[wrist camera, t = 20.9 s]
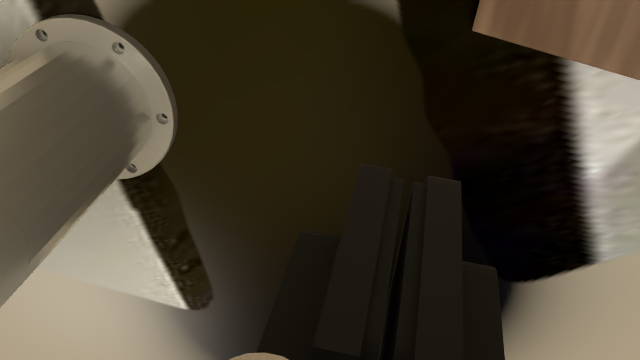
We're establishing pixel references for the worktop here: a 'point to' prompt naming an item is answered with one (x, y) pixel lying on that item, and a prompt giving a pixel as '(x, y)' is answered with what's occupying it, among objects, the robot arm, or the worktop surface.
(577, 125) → the worktop surface
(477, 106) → the worktop surface
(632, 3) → the domino
